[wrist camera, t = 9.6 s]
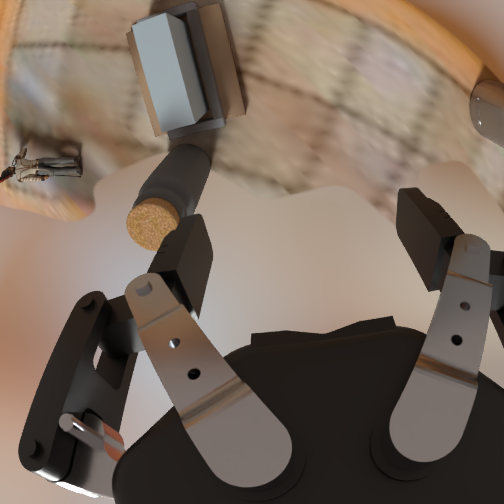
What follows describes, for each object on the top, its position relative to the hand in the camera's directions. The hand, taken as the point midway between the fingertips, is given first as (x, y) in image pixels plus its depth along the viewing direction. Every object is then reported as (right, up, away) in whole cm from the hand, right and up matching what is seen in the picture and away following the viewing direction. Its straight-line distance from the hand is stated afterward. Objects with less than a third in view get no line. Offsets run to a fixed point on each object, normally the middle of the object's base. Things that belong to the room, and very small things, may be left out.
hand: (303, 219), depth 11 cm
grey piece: (-9, +19, +17) cm, 27 cm away
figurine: (-32, +13, +23) cm, 42 cm away
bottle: (-10, +10, +24) cm, 28 cm away
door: (-9, +19, +16) cm, 26 cm away
